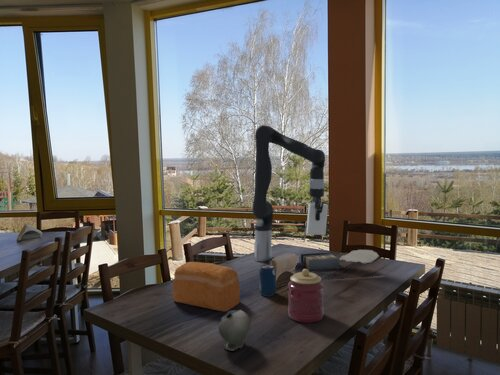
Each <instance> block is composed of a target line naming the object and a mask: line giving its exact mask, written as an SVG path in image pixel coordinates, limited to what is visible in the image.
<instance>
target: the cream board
mask: <svg viewBox="0 0 500 375" xmlns="http://www.w3.org/2000/svg"><path fill="white" fill-rule="evenodd" d="M328 210H329V205H328V204H327V203H326V204H324V203H323V209H322V213H320V220H319V221H316V220H315V209H314V204H311V203H308V207H307V217H306V218H307V219H306V231H305V234H307V235H314V236H315V235H316V236H317V235H318V236H319V235H320V236H326V235H327V233H326V232H327V223H328V222H327V221H328Z"/></svg>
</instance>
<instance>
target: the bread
mask: <svg viewBox="0 0 500 375" xmlns="http://www.w3.org/2000/svg"><path fill="white" fill-rule="evenodd" d="M239 280H240V279H239V277H238V272H237V271H236V270H235V269H233V268H231V267H229V266H226V265H225V266H224V265H220V264H215V263H210V262H201V261H200V262H197V261H187V262H185V263H183V264H181V265H179V266H178V267H177V268H176V269H175V271H174V278H173V283H172V295H173V296H172V297H173V301H174V302H176V303H179V304H185V305H189V306H193V307H194V306H195V307H200V308H203V309H209V310H213V311H218V312H228V311H231V309H233V308H234V307H236V306H237V305H239V304H240V301H241V290H240V281H239Z"/></svg>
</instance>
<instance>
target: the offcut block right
mask: <svg viewBox="0 0 500 375" xmlns="http://www.w3.org/2000/svg"><path fill="white" fill-rule="evenodd" d="M320 258H322V259H330V258H338V257H336V256H335V255H334V254H333V255H328V256H320Z"/></svg>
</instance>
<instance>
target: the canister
mask: <svg viewBox="0 0 500 375" xmlns="http://www.w3.org/2000/svg"><path fill="white" fill-rule="evenodd" d="M289 280H290V281H289V282H288V283H287V287H288V289H289V290H288V292H287V295H288V307H287V313H288V318H290V319H291V320H293V321H295V322H299V323H308V324H309V323H315V322H316V323H317V322H319V321H321V320H322V319H323V317H324V313H325V312H324V296H325V294H324V292H323V288H324V283H323V282H321V281H322V277H321V276H319V275H318V274H317V273H314V272H310V270H308V269H307V268H303V269H302V271H299V272H296V273H294V274H293V275H291V276H290V278H289Z"/></svg>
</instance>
